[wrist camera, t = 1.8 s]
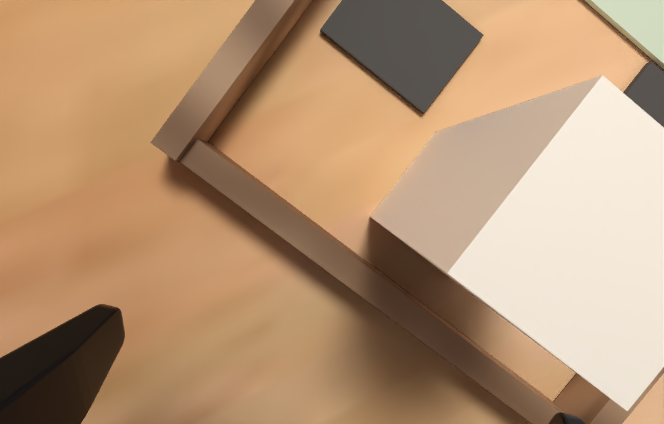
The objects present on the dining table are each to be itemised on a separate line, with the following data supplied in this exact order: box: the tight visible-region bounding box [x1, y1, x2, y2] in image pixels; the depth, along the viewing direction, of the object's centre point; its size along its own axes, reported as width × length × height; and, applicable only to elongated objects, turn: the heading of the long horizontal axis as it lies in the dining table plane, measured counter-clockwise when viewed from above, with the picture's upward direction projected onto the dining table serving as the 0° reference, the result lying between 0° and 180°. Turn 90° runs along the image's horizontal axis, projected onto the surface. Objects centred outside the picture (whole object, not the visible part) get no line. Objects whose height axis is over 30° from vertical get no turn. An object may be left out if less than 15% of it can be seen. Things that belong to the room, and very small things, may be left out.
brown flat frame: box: [151, 0, 664, 424], centre depth 19 cm, size 26×24×2 cm
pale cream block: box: [370, 75, 664, 411], centre depth 15 cm, size 5×5×12 cm
